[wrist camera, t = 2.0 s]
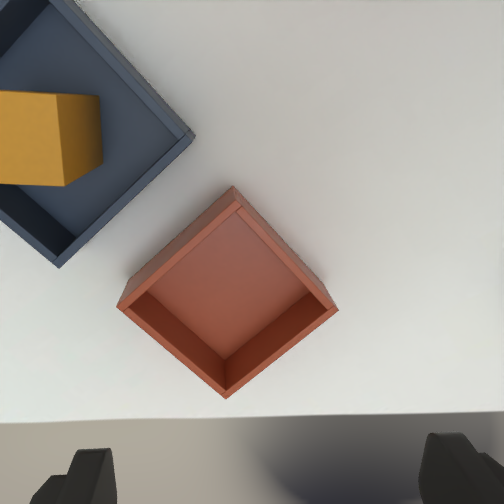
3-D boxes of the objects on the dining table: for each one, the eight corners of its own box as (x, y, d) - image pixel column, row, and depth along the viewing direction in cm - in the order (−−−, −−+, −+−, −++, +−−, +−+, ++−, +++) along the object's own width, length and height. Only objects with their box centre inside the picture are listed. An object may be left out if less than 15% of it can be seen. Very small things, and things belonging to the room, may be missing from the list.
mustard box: (36, 160, 29) (-28, 182, 21) (28, 90, 27) (-44, 88, 20) (103, 163, 29) (64, 186, 22) (99, 95, 27) (56, 94, 20)
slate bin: (-65, 120, 28) (-115, 124, 23) (57, -18, 26) (26, -40, 21) (79, 246, 31) (58, 269, 27) (196, 135, 29) (192, 141, 25)
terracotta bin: (128, 280, 33) (115, 307, 29) (233, 185, 31) (235, 199, 27) (224, 365, 36) (225, 400, 32) (324, 284, 34) (339, 310, 30)
